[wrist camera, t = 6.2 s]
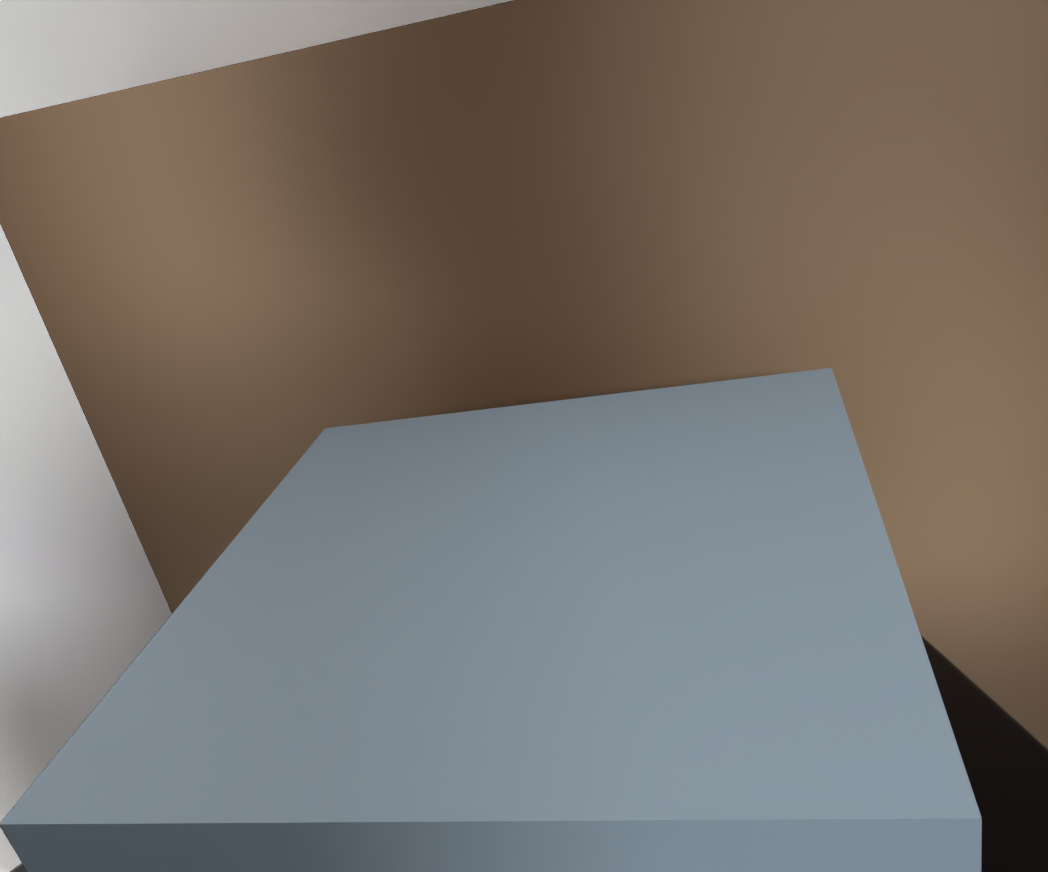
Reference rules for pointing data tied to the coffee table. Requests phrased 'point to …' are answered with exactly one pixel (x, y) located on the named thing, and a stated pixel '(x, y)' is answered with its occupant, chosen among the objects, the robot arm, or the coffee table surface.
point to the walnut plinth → (576, 259)
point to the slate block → (536, 661)
